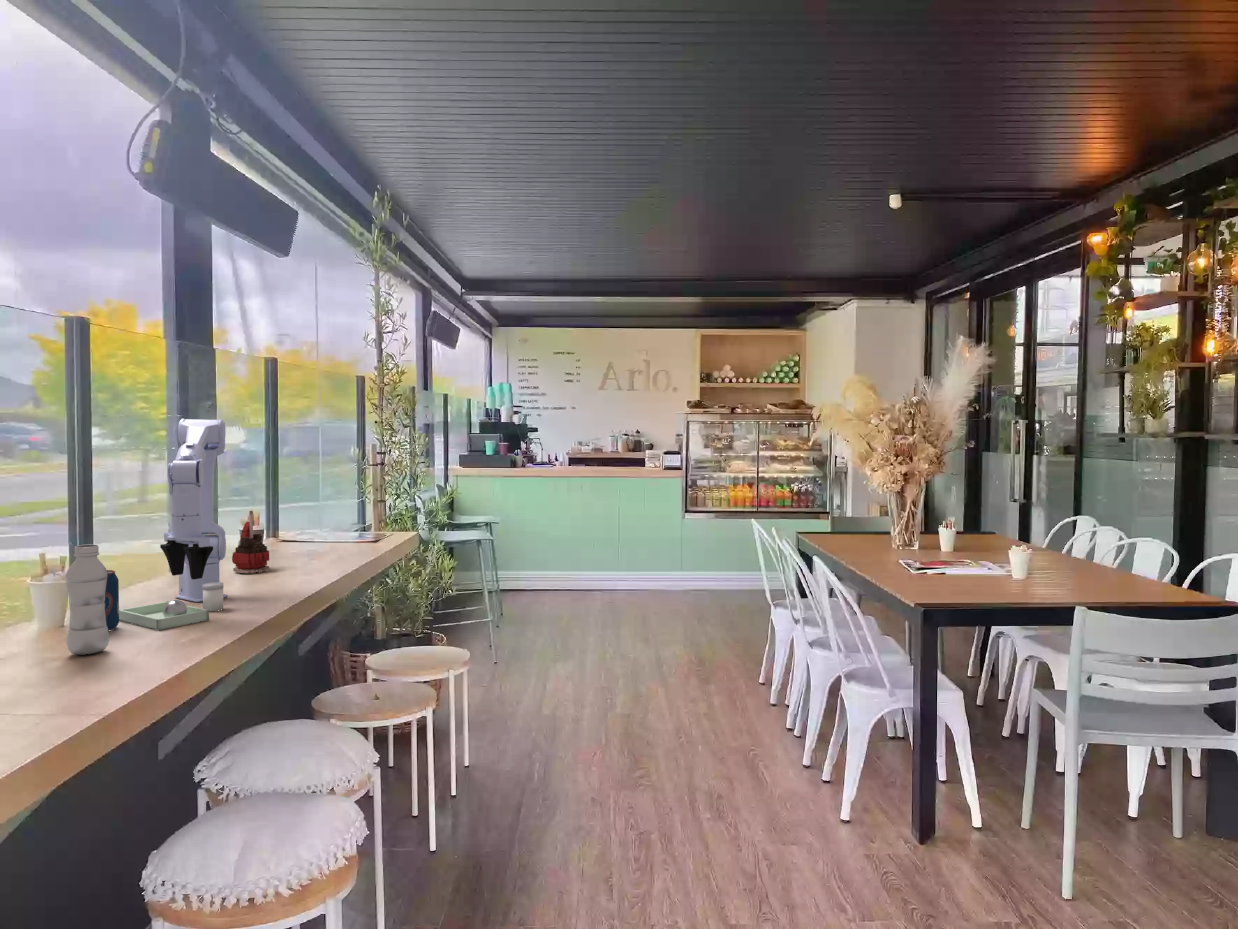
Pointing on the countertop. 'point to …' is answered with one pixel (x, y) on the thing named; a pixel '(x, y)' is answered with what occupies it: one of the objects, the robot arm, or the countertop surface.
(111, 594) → the soda can
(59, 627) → the countertop surface
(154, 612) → the tray
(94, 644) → the plastic bottle
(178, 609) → the ball
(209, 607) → the shaker
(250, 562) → the cake
